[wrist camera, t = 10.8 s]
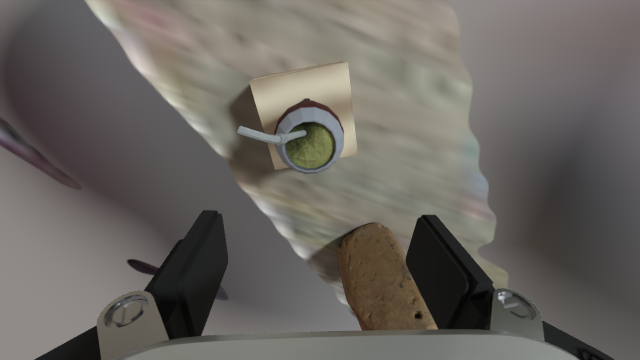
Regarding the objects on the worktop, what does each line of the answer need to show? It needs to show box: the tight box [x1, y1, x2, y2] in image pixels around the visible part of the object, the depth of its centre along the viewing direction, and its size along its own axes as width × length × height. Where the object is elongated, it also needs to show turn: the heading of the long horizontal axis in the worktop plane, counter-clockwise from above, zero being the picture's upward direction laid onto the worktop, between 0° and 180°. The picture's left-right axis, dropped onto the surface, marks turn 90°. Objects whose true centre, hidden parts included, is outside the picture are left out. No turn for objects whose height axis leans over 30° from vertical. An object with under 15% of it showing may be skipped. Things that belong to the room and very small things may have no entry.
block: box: [338, 223, 438, 331], centre depth 37 cm, size 11×8×20 cm
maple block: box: [249, 61, 358, 170], centre depth 31 cm, size 11×11×6 cm
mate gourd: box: [236, 98, 344, 174], centre depth 22 cm, size 8×8×15 cm
